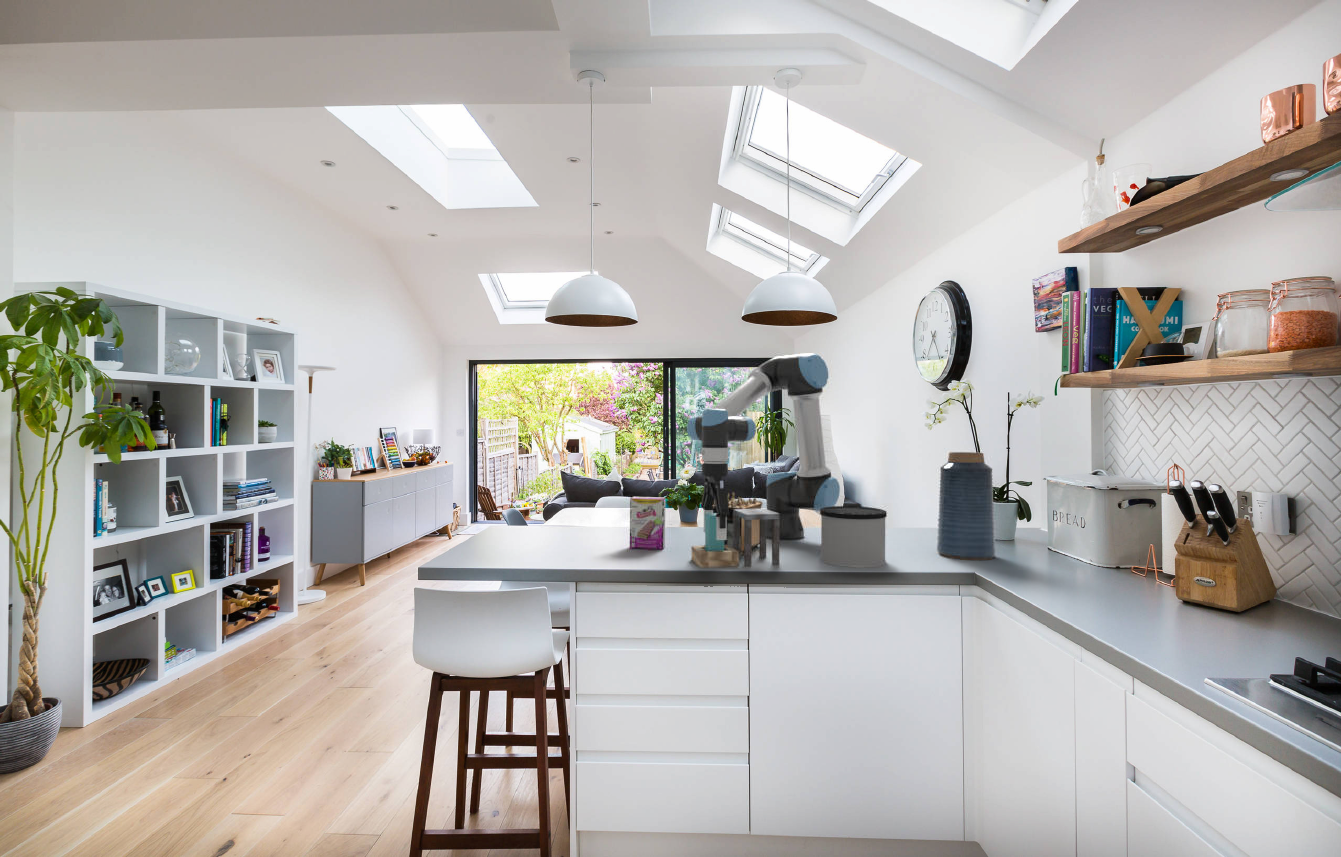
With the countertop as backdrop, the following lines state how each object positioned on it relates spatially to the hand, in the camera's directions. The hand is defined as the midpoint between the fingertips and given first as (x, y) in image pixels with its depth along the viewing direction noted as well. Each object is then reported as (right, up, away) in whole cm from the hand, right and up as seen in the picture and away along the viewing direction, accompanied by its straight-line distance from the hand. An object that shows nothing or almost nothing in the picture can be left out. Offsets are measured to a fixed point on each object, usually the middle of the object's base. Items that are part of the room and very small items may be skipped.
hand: (714, 535), depth 185 cm
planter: (+8, -8, +20) cm, 23 cm away
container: (+41, -8, +4) cm, 42 cm away
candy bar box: (-20, -8, +22) cm, 31 cm away
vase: (+78, -8, +12) cm, 80 cm away
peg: (0, -8, 0) cm, 8 cm away
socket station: (+6, -8, +1) cm, 10 cm away
